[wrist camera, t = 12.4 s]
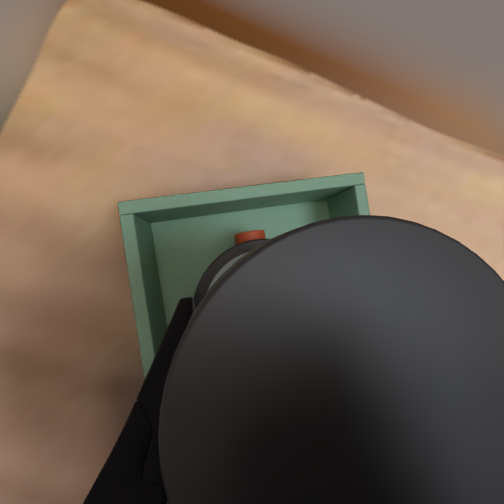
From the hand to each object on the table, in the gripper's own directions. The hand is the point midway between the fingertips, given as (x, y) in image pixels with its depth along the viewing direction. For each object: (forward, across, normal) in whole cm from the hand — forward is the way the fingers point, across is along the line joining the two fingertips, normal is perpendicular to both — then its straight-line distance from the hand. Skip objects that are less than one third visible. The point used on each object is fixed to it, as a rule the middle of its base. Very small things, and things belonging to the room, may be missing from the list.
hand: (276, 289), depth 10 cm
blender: (+4, 0, +6) cm, 7 cm away
